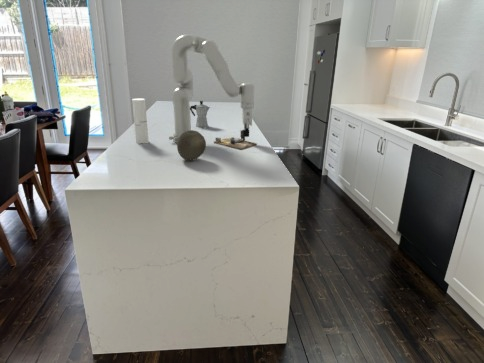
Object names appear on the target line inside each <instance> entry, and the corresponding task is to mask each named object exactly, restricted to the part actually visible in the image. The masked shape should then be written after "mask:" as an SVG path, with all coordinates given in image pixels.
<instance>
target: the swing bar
mask: <svg viewBox="0 0 484 363" xmlns="http://www.w3.org/2000/svg"><path fill="white" fill-rule="evenodd" d="M239 136H240V137H239V138H236V139H234V138H235V136H230V137H231V138H230V137H229V138H230V143H236V142H240V141H246V137H244V129H241V130H240V135H239Z"/></svg>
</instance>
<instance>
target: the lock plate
mask: <svg viewBox="0 0 484 363" xmlns="http://www.w3.org/2000/svg"><path fill="white" fill-rule="evenodd" d="M231 137H232V136H229V137H226V138H223V139H222V138H221V137H217V136H216V137H215V140H214V141H213V144H216V145H220V146H224V147H228V148H231V149H236V150H240V151H242V150H244V149H248V148H251V147H254V146H257V145H258V143H257V142H251V141H247V140H244V141H240V142H236V143H230V138H231ZM234 139H237V138H235V137H234Z"/></svg>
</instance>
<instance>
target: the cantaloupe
mask: <svg viewBox="0 0 484 363" xmlns="http://www.w3.org/2000/svg"><path fill="white" fill-rule="evenodd" d="M206 141H207V140H206V139H205V137H204V136H203V135H202V134H201V132H200V131H197V130H194V129H191V130H189V131H186V132H184V133H182V134H181V135H180V137H179V139H178V142H176V144H177V145H176V149H177V153H178V155H179V156H180V157H181V158H182V159H184V160H185V161H188V162H189V161H190V162H191V161H195V160H197V159H198V158H199V157H201V156H202V155H203V154H204V152H205V151H206V147H207V142H206Z"/></svg>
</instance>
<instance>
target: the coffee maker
mask: <svg viewBox="0 0 484 363" xmlns="http://www.w3.org/2000/svg"><path fill="white" fill-rule="evenodd" d="M203 103H204V101H203V100H200V101H199V104H194V105H190V113H191V114H192V116H193V117H195V116H196V124H195V126H196V128H201V129H202V128H207V127H208V126H209V125H208V118H207V115H208V111H209V110H210V109H211V106H208V105H206V104H203ZM194 110H195V111H196V114H195V112H194Z"/></svg>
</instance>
